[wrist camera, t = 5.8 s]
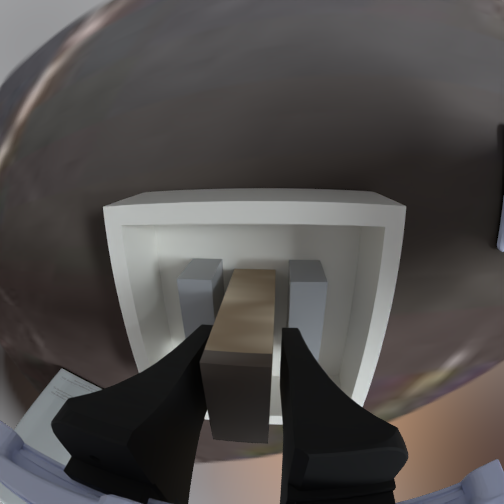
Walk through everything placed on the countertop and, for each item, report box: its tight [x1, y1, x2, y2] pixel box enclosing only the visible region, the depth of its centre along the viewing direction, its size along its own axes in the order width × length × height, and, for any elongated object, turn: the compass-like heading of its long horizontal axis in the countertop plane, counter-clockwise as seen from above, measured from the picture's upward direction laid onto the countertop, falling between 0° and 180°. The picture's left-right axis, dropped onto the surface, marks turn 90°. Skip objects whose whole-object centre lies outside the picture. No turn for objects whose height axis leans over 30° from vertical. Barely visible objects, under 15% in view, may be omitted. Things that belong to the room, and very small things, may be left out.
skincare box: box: [0, 368, 102, 504], centre depth 14 cm, size 8×6×15 cm
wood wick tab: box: [200, 269, 276, 444], centre depth 11 cm, size 2×4×7 cm, turn 1°
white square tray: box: [103, 188, 406, 424], centre depth 14 cm, size 12×12×4 cm
